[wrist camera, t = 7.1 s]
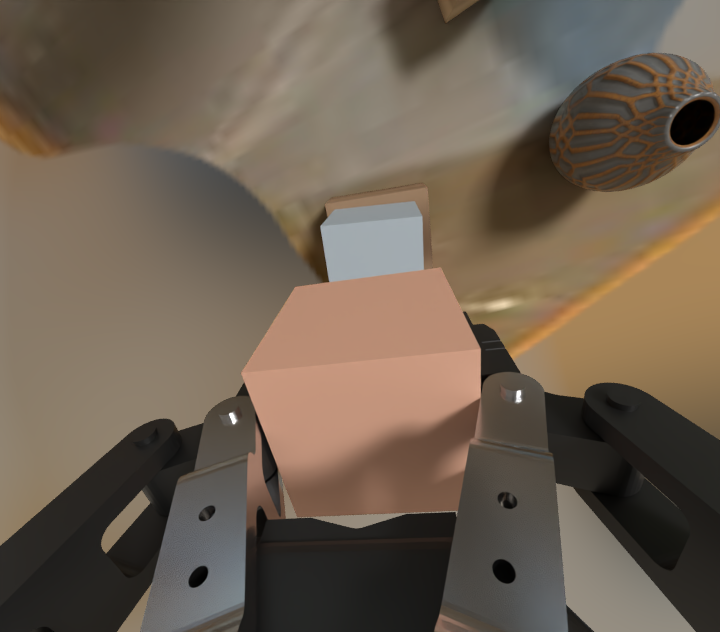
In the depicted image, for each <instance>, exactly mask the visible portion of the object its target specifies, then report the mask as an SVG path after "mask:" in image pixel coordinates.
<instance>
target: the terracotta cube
mask: <svg viewBox="0 0 720 632" xmlns="http://www.w3.org/2000/svg"><path fill="white" fill-rule="evenodd" d="M241 374H242V377H243V380H244V382H245V385H246V387H247V390H248V392H249V395H250V398H251V400H252V403H253V405H254V408H255V410H256V413H257V415H258V418H259V421H260V423H261V426H262V428H263V431H264V433H265V436H266V438H267V441H268V444H269V446H270V449H271V451H272V454H273V456H274V459H275V461H276V464H277V467H278V469H279V472H280V474H281V477H282V479H283V482H284V484H285V487H286V490H287V492H288V495H289V497H290V500H291V502H292V505H293V507H294V510H295V513H296V515H297V517H316V516H340V515H362V514H363V515H364V514H387V513H411V512H436V511H458V507H459V501H460V496H461V490H462V484H463V478H464V473H465V467H466V461H467V455H468V450H469V444H470V440H471V437H473V438H474V436H475V430H476V424H477V418H478V412H479V406H480V400H481V349H480V346H479V344H478V342H477V340H476V338H475V336H474V334H473V332H472V330H471V328H470V326H469V324H468V322H467V320H466V318H465V316H464V314H463V312H462V310H461V308H460V306H459V304H458V302H457V300H456V298H455V296H454V294H453V292H452V290H451V287H450V285H449V283H448V281H447V279H446V277H445V275H444V273H443V271H442V269H441V268H433V269H426V270H418V271H410V272H403V273H395V274H388V275H380V276H373V277H365V278H358V279H350V280H342V281H335V282H327V283H320V284H312V285H305V286H298V287H295V288H294V290H293V291H292V293H291V295H290V296H289V298H288V299H287V301H286V303H285V304H284V306H283V307H282V309H281V310H280V312H279V314H278V315H277V317H276V318H275V320H274V321H273V323H272V325H271V326H270V328H269V330H268V331H267V333H266V334H265V336H264V338H263V339H262V341H261V342H260V344H259V345H258V347H257V349H256V350H255V352H254V353H253V355H252V356H251V358H250V360H249V361H248V363H247V364H246V366H245V367H244V369H243V371H242V372H241Z"/></svg>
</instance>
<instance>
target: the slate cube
mask: <svg viewBox="0 0 720 632" xmlns="http://www.w3.org/2000/svg"><path fill="white" fill-rule="evenodd" d="M320 228H321V234H322V240H323V246H324V252H325V258H326V264H327V271H328V277H329V282H335V281H342V280H350V279H358V278H365V277H373V276H380V275H388V274H395V273H403V272H410V271H418V270H424V258H423V221H422V214H421V213H420V211H419V209H418V207H417V205H416V203H415V201H411V202H401V203H392V204H382V205H373V206H363V207H354V208H344V209H335V210H334V211H333V212H332V213H331V214H330V215H329V217H328V218H327V219H326V220H325V221H324V223H323V224H322V225H321V226H320Z"/></svg>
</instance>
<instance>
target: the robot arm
mask: <svg viewBox="0 0 720 632" xmlns="http://www.w3.org/2000/svg"><path fill="white" fill-rule="evenodd" d="M463 314H464V316H465V318H466V320H467V322H468V324H469V326H470V328H471V330H472V332H473V334H474V336H475V338H476V340H477V342H478V344H479V346H480V349H481V400H480V406H479V412H478V418H477V424H476V430H475V436H474V438H473V437H471V440H470V444H469V450H468V455H467V461H466V467H465V473H464V478H463V484H462V490H461V496H460V501H459V507H458V513H457V517H456V513H455V512H448V513H446V512H445V513H422V514H405V515H402V516H399V517H395V518H392V519H389V520H386V521H382V522H379V523H376V524H373V525H370V526H366V527H363V528H358V529H355V528H349V527H345V526H341V525H337V524H333V523H329V522H325V521H321V520H317V519H313V518H297V519H286V517H285V506H284V495H283V484H282V477H281V474H280V472H279V469H278V467H277V464H276V461H275V459H274V456H273V454H272V451H271V449H270V446H269V444H268V441H267V438H266V436H265V433H264V431H263V428H262V426H261V423H260V421H259V418H258V415H257V413H256V410H255V408H254V405H253V403H252V400H251V398H250V395H249V392H248V390H247V387H246V385H245V382H244V384H243V385H242V387H241V389H240V390H239V392H238V394H237V395H236V397H232V398H229V399H226V400H224V401H222V402H220V403H219V404H217V405H216V406H215V407H213V408H212V409H211V410H210V411H209V412H208V414H207V415H206V417H205V420H204V423H202V424H199V425H196V426H193V427H189V428H186V429H183V430H180V431H178V430H177V428H176V426H175V424H174V422H173V421H171V420H170V419H158V420H154V421H150V422H148V423H146V424H144V425H142V426H140V427H138V428H136V429H135V430H133V431H132V432H131V433H130V434H128V435H127V436H126V437H125V438H124V439H123V440H121V441H120V442H119V443H118V444H117V445H116V446H115V447H113V448H112V449H111V450H110V451H109V452H108V453H106V454H105V455H104V456H103V457H102V458H101V459H100V460H98V461H97V462H96V463H95V464H94V465H93V466H92V467H91V468H89V469H88V470H87V471H86V472H85V473H83V474H82V475H81V476H80V477H79V478H78V479H77V480H76V481H74V482H73V483H72V484H71V485H70V486H69V487H67V488H66V489H65V490H64V491H63V492H62V493H61V494H60V495H58V496H57V497H56V498H55V499H54V500H53V501H51V502H50V503H49V504H48V505H47V506H46V507H44V508H43V509H42V510H41V511H40V512H39V513H38V514H36V515H35V516H34V517H33V518H32V519H31V520H30V521H28V522H27V523H26V524H25V525H24V526H23V527H22V528H20V529H19V530H18V531H17V532H16V533H15V534H14V535H12V536H11V537H10V538H9V539H8V540H7V541H6V542H4V543H3V544H2V545H1V546H0V632H117V631H118V629H119V628H120V627H121V625H122V624H123V622H124V621H125V620H126V618H127V617H128V615H129V614H130V613H131V611H132V610H133V609H134V607H135V606H136V604H137V603H138V601H139V600H140V599H141V597H142V596H143V595H144V593H145V592H146V590H147V589H148V588H149V586H150V585H151V583H152V586H151V590H150V594H149V598H148V602H147V606H146V610H145V614H144V618H143V622H142V626H141V630H140V632H594V631H593V630H592V629H591V628H590V627H588V625H587V624H585V623H584V622H583V621H582V620H581V619H580V618H579V617H578V616H577V615H576V614H575V613H574V612H573V611H572V610H571V609H570V608H569V607H568V606H567V605H566V598H565V586H564V575H563V563H562V551H561V540H560V527H559V516H558V504H557V492H556V483H558V484H562V485H567V486H571V487H573V488H574V489H575V490H576V492H577V493H578V494H579V495H580V497H581V498H582V499H583V500H584V501H585V503H586V504H587V505H588V506H589V507H590V508H591V509H592V511H593V512H594V513H595V514H596V515H597V517H598V518H599V519H600V520H601V521H602V522H603V524H604V525H605V526H606V527H607V528H608V529H609V531H610V532H611V533H612V534H613V535H614V536H615V538H616V539H617V540H618V541H619V542H620V543H621V545H622V546H623V547H624V548H625V549H626V551H628V553H629V554H630V555H631V556H632V557H633V558H634V560H635V561H636V562H637V563H638V565H639V566H640V567H641V568H642V569H643V570H644V571H645V573H646V574H647V575H648V576H649V577H650V578H651V580H652V581H653V582H654V583H655V584H656V586H657V587H658V588H659V589H660V590H661V591H662V593H663V594H664V595H665V596H666V597H667V598H668V600H669V601H670V602H671V603H672V604H673V605H674V607H675V608H676V609H677V610H678V611H679V612H680V614H681V615H682V616H683V617H684V618H685V619H686V621H687V622H688V623H689V624H690V625H691V626H692V627H693V629H694V630H695V631H696V632H720V440H719V439H717V438H715V437H714V436H712V435H710V434H709V433H708V432H706V431H705V430H703V429H702V428H700V427H698V426H697V425H695V424H694V423H692V422H691V421H689V420H688V419H686V418H685V417H683V416H682V415H680V414H678V413H677V412H675V411H674V410H672V409H671V408H669V407H668V406H666V405H665V404H663V403H662V402H660V401H658V400H657V399H655V398H654V397H653V396H651V395H649V394H648V393H646V392H644V391H642V390H640V389H637V388H634V387H631V386H628V385H623V384H618V383H600V384H596V385H593V386H591V387H589V388H588V389H587V390H586V392H585V396H584V398H576V397H567V396H560V395H555V394H551V393H547V392H544V389H543V387H542V386H541V385H540V383H538V382H537V381H536V380H535V379H533V378H531V377H529V376H527V375H524V374H521V373H520V371H519V369H518V368H517V366H516V365H515V363H514V361H513V360H512V358H511V356H510V355H509V353H508V352H507V350H506V349H505V347H504V345H503V343H502V342H501V341H500V339H499V337H498V335H497V334H496V332H495V331H494V330H493V329H491V328H490V327H488V326H486V325H485V324H477V325H473V324H472V323H471V321H470V319H469V317H468V315H467V313H466V312H463ZM644 477H646V478H647V479H648V480H649V481H650V482H651V483H652V484H653V485H654V486H656V487H657V488H658V489H659V490H660V491H661V492H662V493H664V494H665V495H666V496H667V497H668V498H669V499H670V500H671V501H672V502H674V503H675V504H676V505H677V507H676V506H675V505H674V504H673V503H672V502H671V501H670V500H669V499H668V498H666V497H665V496H664V495H663V494H662V493H661V492H660V491H659V490H658V489H656V488H655V487H654V486H653V485H652V484H651V483H650V482H649V481H647V480H646V479H645V478H644ZM141 490H142V491H143V492H144V494H145V495H146V497H147V498H148V500H149V501H150V504H149V505H148V507H147V508H146V509H145V510H144V511H143V512H142V513H141V514H140V516H139V517H138V518H137V519H136V520H135V521H134V523H133V524H132V525H131V526H130V527H129V528H128V529H127V530H126V532H125V533H124V534H123V535H122V536H121V537H120V539H119V540H118V541H117V542H116V543H115V544H114V545H113V546H112V548H111V549H110V550H109V551H108V552H107V553H105V552H104V551H103V550H102V547H101V540H102V536H103V534H104V532H105V530H106V528H107V527H108V526H109V525H110V523H111V522H112V521H113V520H114V519H115V518H116V517H117V516H118V515H119V514H120V513H121V511H123V509H124V508H125V507H126V506H127V505H128V504H129V503H130V502H131V501H132V500H133V499H134V498H135V496H136V495H137V494H138V493H139V492H140V491H141Z"/></svg>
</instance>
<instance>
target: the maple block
mask: <svg viewBox="0 0 720 632" xmlns="http://www.w3.org/2000/svg"><path fill="white" fill-rule="evenodd" d="M437 1H438V4H439V7H440V9H441V12H442V15H443V18H444V21H445V23H447V22H449V21H450V20H451V19H453V18H454V17H456V16H457V15H459V14H460V13H461V12H463V11H464V10H466V9H467V8H469V7H470V6H471V5H473V4H474V3H476V2H477V1H479V0H437Z"/></svg>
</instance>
